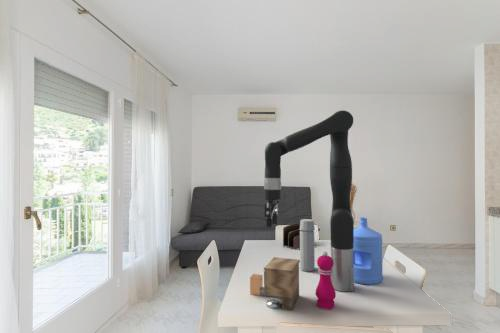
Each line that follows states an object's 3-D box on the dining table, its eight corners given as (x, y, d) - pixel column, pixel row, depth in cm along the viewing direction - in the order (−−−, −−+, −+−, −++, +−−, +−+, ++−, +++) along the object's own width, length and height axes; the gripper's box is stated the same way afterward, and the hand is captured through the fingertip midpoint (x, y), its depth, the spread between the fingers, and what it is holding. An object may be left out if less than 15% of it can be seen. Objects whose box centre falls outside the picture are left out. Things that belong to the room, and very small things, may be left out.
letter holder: (282, 247, 202) (282, 225, 202) (302, 242, 215) (302, 222, 215) (294, 250, 195) (293, 227, 195) (314, 245, 207) (313, 224, 208)
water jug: (365, 271, 151) (365, 214, 152) (390, 282, 137) (390, 219, 137) (339, 275, 146) (338, 216, 146) (362, 287, 131) (362, 221, 132)
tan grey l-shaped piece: (285, 294, 124) (285, 277, 124) (283, 298, 120) (283, 280, 120) (253, 290, 129) (253, 273, 129) (250, 294, 125) (250, 277, 125)
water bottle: (315, 272, 151) (314, 221, 151) (299, 271, 152) (298, 221, 153) (315, 266, 160) (314, 218, 160) (299, 266, 161) (299, 218, 162)
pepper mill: (332, 301, 118) (331, 248, 118) (338, 309, 110) (337, 253, 111) (313, 301, 117) (313, 249, 118) (318, 310, 110) (317, 254, 110)
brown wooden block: (300, 295, 123) (299, 259, 124) (292, 311, 110) (292, 270, 110) (274, 292, 127) (273, 257, 127) (263, 306, 113) (263, 267, 113)
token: (281, 304, 116) (281, 300, 116) (278, 310, 111) (278, 305, 111) (268, 302, 118) (268, 298, 118) (264, 308, 113) (264, 303, 113)
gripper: (276, 189, 126) (275, 229, 126) (284, 187, 140) (284, 223, 140) (259, 188, 129) (258, 227, 129) (269, 187, 142) (268, 222, 142)
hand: (272, 225), depth 134 cm, fingers open, 8 cm apart
